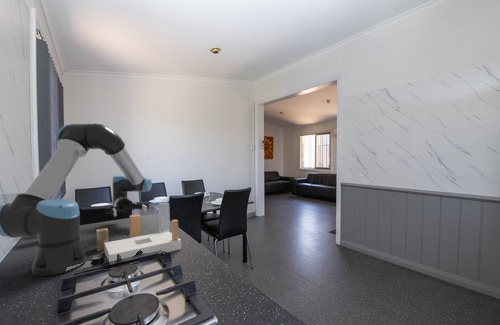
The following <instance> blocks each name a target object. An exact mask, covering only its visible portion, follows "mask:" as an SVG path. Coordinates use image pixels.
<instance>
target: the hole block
mask: <svg viewBox="0 0 500 325" xmlns="http://www.w3.org/2000/svg"><path fill="white" fill-rule="evenodd" d="M170 222H171V231H170V232H169V231H165V232H160V233H159V232H155V233H150V234H145V235H141V236H138V237H133V238H130V237H128V238H123V239H117V240H113V241H109V242H106V243H104V250H103V251H104V255H105V258H106V257H107V258H108V259H109V261H113V260H116V259H117V255H118V254H119V255H120V256H121V258H127V257H131V256H134V255H136V253H137V252H138V251H140V250H141V251H142V252H143V253H147V252H154V251H158V250H162V251H165V252H167V253H170V252H171V253H172V252H174V251H179V250H182V239H181V238H179V220H178V219H172V220H171V219H170ZM107 258H106V259H107Z"/></svg>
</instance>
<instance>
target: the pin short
mask: <svg viewBox="0 0 500 325" xmlns="http://www.w3.org/2000/svg"><path fill="white" fill-rule="evenodd" d="M95 232H96V235H95V236H96V250H97V252H100V251H104V243H106V242H110V241H109V228H107V227H105V228H100V229H99V228H97V229H96V231H95Z"/></svg>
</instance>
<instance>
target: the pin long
mask: <svg viewBox="0 0 500 325" xmlns="http://www.w3.org/2000/svg"><path fill="white" fill-rule="evenodd" d="M170 213H171V212H170V203H169V202H159V203H158V233H160V232H165V231H169V232H171V225H170V224H171V219H170Z"/></svg>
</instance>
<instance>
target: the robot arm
mask: <svg viewBox="0 0 500 325" xmlns="http://www.w3.org/2000/svg"><path fill="white" fill-rule="evenodd" d="M55 136H56V138H55V139H56V145H57V149H55V151H54V153H52V156H51V157H50V158H49V160H48V161H47V162H46V164H45V165H44V167H43V168H42V169H41V170H40V172H39V174H38V175H37V177H36V178H35V179H34V180H33V181H32V183H31V185H30V186H29V187H28V189H27V190H26V192H21V193H19V194H17V195H16V196H15V197H14V199H13V200H12V202H11V203H5V204H2V205H0V236H2V237H7V238H12V239H13V238H15V239H16V238H37V245H38V246H37V247H38V248H37V251H36V254H35V257H34V260H33V262H32V264H31V274H32V275H33V276H36V277H38V276H39V277H49V276H55V275H59V274H64V273H67V272H66V269H67V267H70V266H74V265H77V264H81V263H84V262H85V263H86V262H87V254H86V252H85V250H84V248H83V245H82V243H81V240H80V239H81V238H80V236H81V234H80V229H81V228H80V225H81V223H80V213H81V212H80V208H79V204H78V203H77V201H75V200H73V199H66V198H58V199H57V198H55V196H56V195H57V193H58V192H59V190H60V189H61V187H62V186H63V184H64V182H65V181H66V179H67V178H68V176H69V175H70V173H71V171H72V170H73V168H74V166H75V165H76V163H77V162H78V161H79V159H80V158H83V157H85V156H86V155H87V153H88V152H89V150H101V151H103V152H104V154H106V155H108V156H110V158H111V159H112V160H113V162H114V163H115V164H116V165H117V167H118V168H119V170H120V171H121V172H122V173H123V175H122V174H120V175H114V176H113V177H112V201H111V202H112V205H110V206H107V208H105V210H104V211H105V215H110V216H113V217H117V216H118V215H117V213H118V212H120V213H128V212H129V211H130V210H132V211H133V210H142V211H143V212H145V213H147V212H148V209H150V207H149V206H150V205H149V204H150V203H146V202H139V201H136V203H135V202H132V200H130V199H129V198H128V192H132V193H133V192H136V193H137V192H141V193H143V192H144V193H145V192H150V191H151V189H152V187H153V182H152V179H151V178H145V176H144V175H143V174H142V173H141V171H140V169H139V168H138V166H137V165H136V163H135V162H134V160H133V158H132V157H131V155H130V154H129V152H128V151H127V149H126V144H125V142H124V140H123V139H122V138H121V137H120V135H119V134H118V133H117V132H115V131H114V130H113V129H111V128H110V127H108V126H106V125H104V124H100V123H70V124H66V125H63V126H61V127H60V128H59V129H58V131H57V132H56V135H55ZM85 263H84V264H85Z"/></svg>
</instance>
